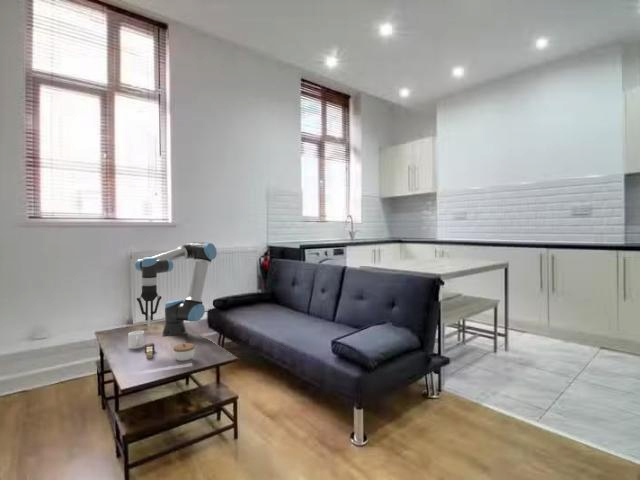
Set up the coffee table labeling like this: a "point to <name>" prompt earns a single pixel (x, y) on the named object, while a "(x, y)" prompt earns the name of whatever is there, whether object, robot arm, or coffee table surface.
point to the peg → (149, 349)
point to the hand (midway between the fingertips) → (149, 326)
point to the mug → (136, 339)
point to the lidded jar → (184, 351)
